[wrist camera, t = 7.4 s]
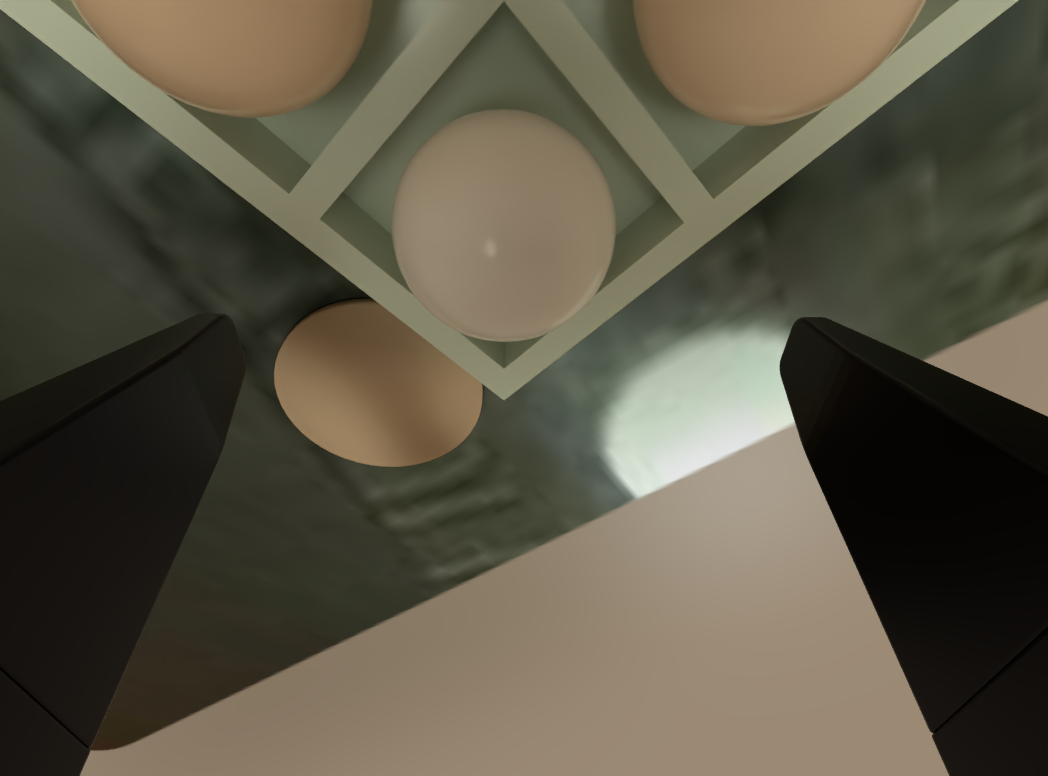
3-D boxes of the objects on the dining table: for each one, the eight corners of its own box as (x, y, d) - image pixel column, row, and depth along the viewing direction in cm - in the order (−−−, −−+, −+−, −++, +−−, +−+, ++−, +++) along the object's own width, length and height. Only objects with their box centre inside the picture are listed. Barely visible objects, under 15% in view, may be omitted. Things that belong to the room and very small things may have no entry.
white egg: (503, 312, 17) (505, 421, 13) (366, 192, 15) (318, 282, 11) (637, 194, 15) (687, 282, 11) (502, 34, 13) (505, 74, 9)
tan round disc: (398, 485, 23) (396, 492, 23) (238, 387, 20) (233, 394, 19) (524, 387, 20) (524, 394, 20) (360, 255, 17) (358, 260, 17)
